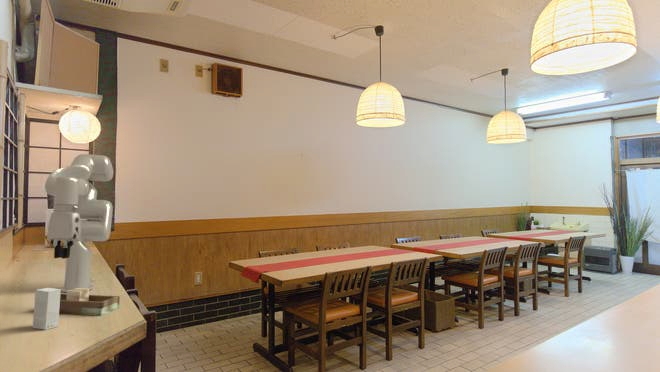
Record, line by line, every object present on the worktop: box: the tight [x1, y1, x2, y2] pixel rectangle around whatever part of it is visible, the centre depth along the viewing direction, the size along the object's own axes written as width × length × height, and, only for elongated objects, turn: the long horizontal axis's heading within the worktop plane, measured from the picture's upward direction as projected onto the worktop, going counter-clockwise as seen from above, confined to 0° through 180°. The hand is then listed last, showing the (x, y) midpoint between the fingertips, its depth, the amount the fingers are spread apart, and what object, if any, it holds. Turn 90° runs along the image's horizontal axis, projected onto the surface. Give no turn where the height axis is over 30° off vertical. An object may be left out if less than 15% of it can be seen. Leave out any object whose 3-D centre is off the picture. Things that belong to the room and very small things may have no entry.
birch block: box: [66, 288, 90, 301], centre depth 141 cm, size 5×5×5 cm
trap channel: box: [59, 292, 121, 317], centre depth 141 cm, size 10×25×4 cm, turn 87°
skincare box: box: [32, 287, 62, 331], centre depth 121 cm, size 6×4×12 cm
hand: (61, 257), depth 143 cm, fingers closed
